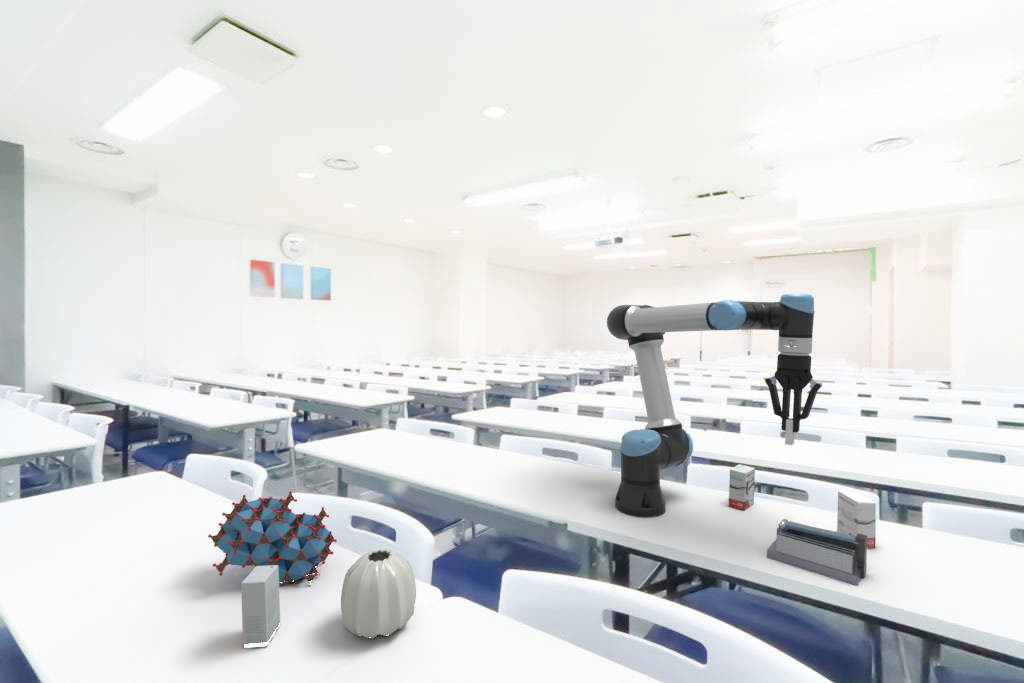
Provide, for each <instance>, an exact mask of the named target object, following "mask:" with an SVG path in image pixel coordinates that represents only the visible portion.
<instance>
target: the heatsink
mask: <svg viewBox="0 0 1024 683" xmlns="http://www.w3.org/2000/svg"><path fill="white" fill-rule="evenodd" d="M788 522H792V523H797V524H800V523H799V522H795V521H791V520H788ZM801 524H802V523H801ZM802 525H804V524H802ZM805 525H806V524H805ZM806 526H808V525H806ZM867 551H868V548H867V535H863V534H859V533H858V534H857V536H856V538H855V541H854V543H852V542H848V541H843V540H839V539H834V538H830V537H825V536H820V535H816V534H811V533H807V532H802V531H798V530H793V529H789V528H784V529H780V528H779V526H778V527H777V528H776V539H775V540H774V541H773V542H772V543H771V544H770V545H769V546H768V547H767V549H766V558H768V559H771V560H774V561H778V562H781V563H784V564H787V565H791V566H793V567H796V568H800V569H802V570H807V571H810V572H812V573H816V574H819V575H823V576H825V577H829V578H832V579H835V580H838V581H842V582H845V583H849V584H850V585H854V586H858V585H859V583H860V581H861V578H862V579H865V577H866V574H867V558H868V552H867Z"/></svg>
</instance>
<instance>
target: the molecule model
mask: <svg viewBox="0 0 1024 683" xmlns="http://www.w3.org/2000/svg"><path fill="white" fill-rule="evenodd" d="M292 493H293V491H291V490H290V491H288V496H287V498H286V499H283V498H273V496H269V497H268V498H267V497H266V498H265V497H264V498H262V497H258V498H257V499H254V500H251V501H248V500H247V498H246V496H247V495H246V494H243V495H242V499H241V500H240V502H239V503H237V502H235V501H233V502H231V505H232V506H233V509H232V511H230V513H226V512H222V514H221V515H222V516H225V518H226V520H225V522H224V523H222V522H219V523H218V526H220V529H219V531H218V533H217V534H215V535H212V534H208V536H207V537H208V538H209V539H211V540H212V542H213V544H214V545H213V546H214V547H215V548H216V547H217V548H218V549H220V550H221V551H222V553H223V554H225V557H224V558H223V560H222V562H220V563H219V564H217V563H213V564H212V567H213V568H216V570H217V571H218V572H219V574H218V576H219V577H222V576H223V574H224V573H223V572H224V570H225V568H226V567H227V566H229V565H231V566H238V567H241V568H242V569H245V568H246V567H254V568H255V567H256V566H268V565H278V567H279V582H284V581H293V580H295V581H298V580H301V578H305V579H306V580H307V582H308V581H311V580H313V581H314V579H315V578H316V577H317V576H318V574H317V573H319V572H318V570H317V568H315V566H317V567H318V566H319V565H320V563H321V564H322V565H325V564H326V559H327V558H328V556H329V555H334V551H332V550H331V549H330V547H331V545H332V544H333V542H334V543H337V542H338V541H337V540H338V539H335V538H334V536H333V534H332V533H333V531H332V530H329V529H328V528H326V527H327V526H326V525H325V524H324V523H322V521H323V519H325V517H326V518H329V517H330V514H327V512H326V511H325V507H324V506H322V507H321V508H320V509H321V511H320V512H319V513H318V515H316V513H315V514H313V515H312V514H307V513H306V512H303V513H299V514H296V513H294V512H292V508H289V505H290V503H291V502H292V501H294V502H295V503H297V502H298V499H297V498H295V497H294V496H293V494H292ZM322 561H323V562H322ZM312 573H315V574H314V575H308V574H312ZM306 575H308V576H306ZM297 579H298V580H297ZM284 583H285V582H284Z"/></svg>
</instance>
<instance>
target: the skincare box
mask: <svg viewBox="0 0 1024 683" xmlns="http://www.w3.org/2000/svg"><path fill="white" fill-rule="evenodd" d="M240 587H241V588H240V589H241V616H242V618H241V620H242V621H241V622H242V645H243V644H249V643H261V642H262V643H263V642H267V641H268V640H269V639H270V637H271V635H272V634H273V632H274V631H275V629H276V628H277V627H278V625H279V623H280V624H281V607H280V606H281V605H280V604H281V603H280V600H281V599H280V583H279V567H278V565H268V566H256V567H255V566H254V568H253V569H252V570H251V571H250V573H248V574H247V576H246V578H244V579H243V581H242V582H241V583H240Z"/></svg>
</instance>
